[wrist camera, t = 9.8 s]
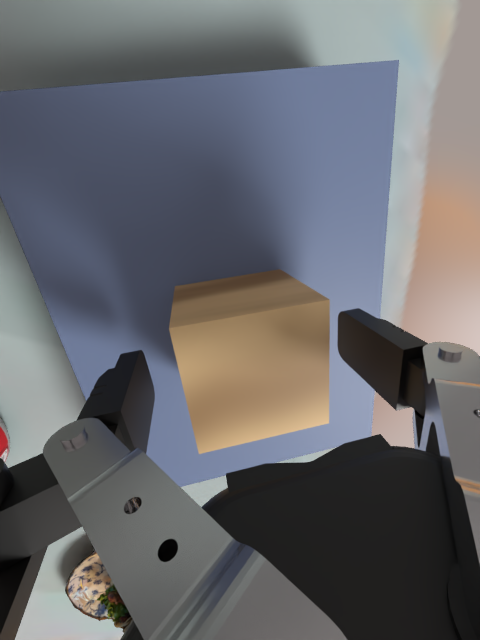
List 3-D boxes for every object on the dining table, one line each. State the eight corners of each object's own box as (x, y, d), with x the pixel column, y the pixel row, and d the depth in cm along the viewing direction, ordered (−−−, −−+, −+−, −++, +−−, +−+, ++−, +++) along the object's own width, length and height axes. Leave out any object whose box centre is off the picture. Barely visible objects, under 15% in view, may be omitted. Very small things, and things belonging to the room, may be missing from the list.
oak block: (174, 286, 13) (168, 328, 8) (279, 269, 13) (329, 299, 9) (194, 377, 15) (198, 454, 10) (285, 359, 15) (329, 423, 11)
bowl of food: (121, 502, 24) (96, 620, 17) (225, 541, 28) (237, 647, 21) (45, 584, 26) (-6, 720, 19) (153, 608, 30) (143, 725, 23)
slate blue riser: (34, 133, 14) (-42, 94, 9) (336, 104, 16) (399, 60, 11) (140, 438, 21) (128, 500, 17) (334, 393, 23) (371, 438, 19)
